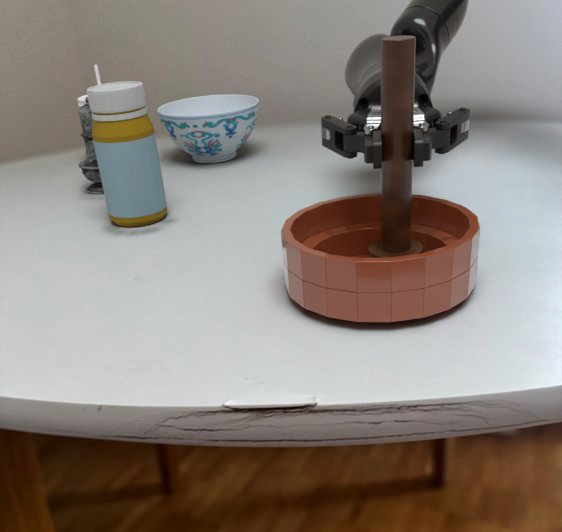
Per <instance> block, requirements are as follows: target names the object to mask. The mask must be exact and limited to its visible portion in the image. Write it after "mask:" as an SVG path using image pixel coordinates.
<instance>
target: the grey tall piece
mask: <svg viewBox="0 0 562 532" xmlns="http://www.w3.org/2000/svg"><path fill="white" fill-rule="evenodd" d="M85 101H86V104H84V105H83V106H82V107H79V109H78V115H79V120H80V125H81V130H82V132H81V133H80V137H81V138H82V139H83V142H84V146H85V151H86V152H85V159H84V160H82V161H80V162H79V163H78V168H79V169H81V172H82V174H83V176H84V177H85V179H86V180H88V181H89V182H92V183H90V184H89V185H88V187H86V189H85V191H86V193H88V194H90V195H91V194H92V195H104V190H103V186H102V181H101V176H100V172H99V167H98V162H97V157H96V153H95V148H94V143H93V137H92V129H93V118H92V111H91V109H90V105H89V100H88V98H87V97H86V98H85Z"/></svg>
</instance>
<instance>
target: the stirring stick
mask: <svg viewBox="0 0 562 532" xmlns="http://www.w3.org/2000/svg"><path fill="white" fill-rule="evenodd" d="M415 49H416V37H415V36H391V37H385V38H382V39H381V135H382V169H380V193H381V240H378V241H375V242H373V243H372V244H370V246H369V248H368V258H391V257H398V256H406V255H413V254H421V253H423V245H422V244H421V243H420V242H418V241H416V240H413V239H411V211H412V194H413V171H414V170H413V167H414V164H413V130H414V89H415Z"/></svg>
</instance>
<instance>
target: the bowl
mask: <svg viewBox="0 0 562 532" xmlns="http://www.w3.org/2000/svg"><path fill="white" fill-rule="evenodd" d="M282 225H283V226H282V228H281V229H280V235H281V249H282V260H283V261H282V262H283V273H284V274H283V276H284V286H285V288H286V291H287V293H288V296H289V297H290V299H292V300H293V301H294V302H295V303H296V304H298V305H299V306H300V307H302V308H303V309H305V310H308V311H311V312H313V313H315V314H319V315H322V316H324V317H327V318H331V319H336V320H341V321H342V320H343V321H348V322H354V323H355V322H356V323H396V322H402V321H410V320H416V319H423V318H427V317H430V316H434V315H436V314H439V313H440V314H441V313H442V312H445V311H449V310H451V309H452V308H453V307H455V306H457V305H458V304H461V303H462V302H463V301H465V300H466V299H468V298H469V296H470V294H471V293H472V291H473V290H474V288H475V286H476V285H477V271H478V258H479V246H480V245H479V244H480V234H481V233H480V232H481V226H480V222H479V217H478V215H476V214H475V213H474V212H473V211H471V210H470V209H469V208H468V207H466V206H464V205H461V204H459V203H456V202H454V201H451V200H449V199H444V198H439V197H434V196H430V195H424V194H416V193H415V194H413V193H412V211H411V239H413V240H416V241H418V242H420V243H421V244H422V245H423V253H421V254H413V255H406V256H398V257H391V258H368V248H369V246H370V244H372V243H373V242H375V241H378V240H381V192H380V193H362V194H355V195H347V196H339V197H336V198H332V199H328V200H323V201H319V202H316V203H313V204H311V205H309V206H307V207H304V208H301V209H299V210H297V211H296V212H295V213H293V214H291V216H288V217H287V218H286V219H285V221H284V224H282Z"/></svg>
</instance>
